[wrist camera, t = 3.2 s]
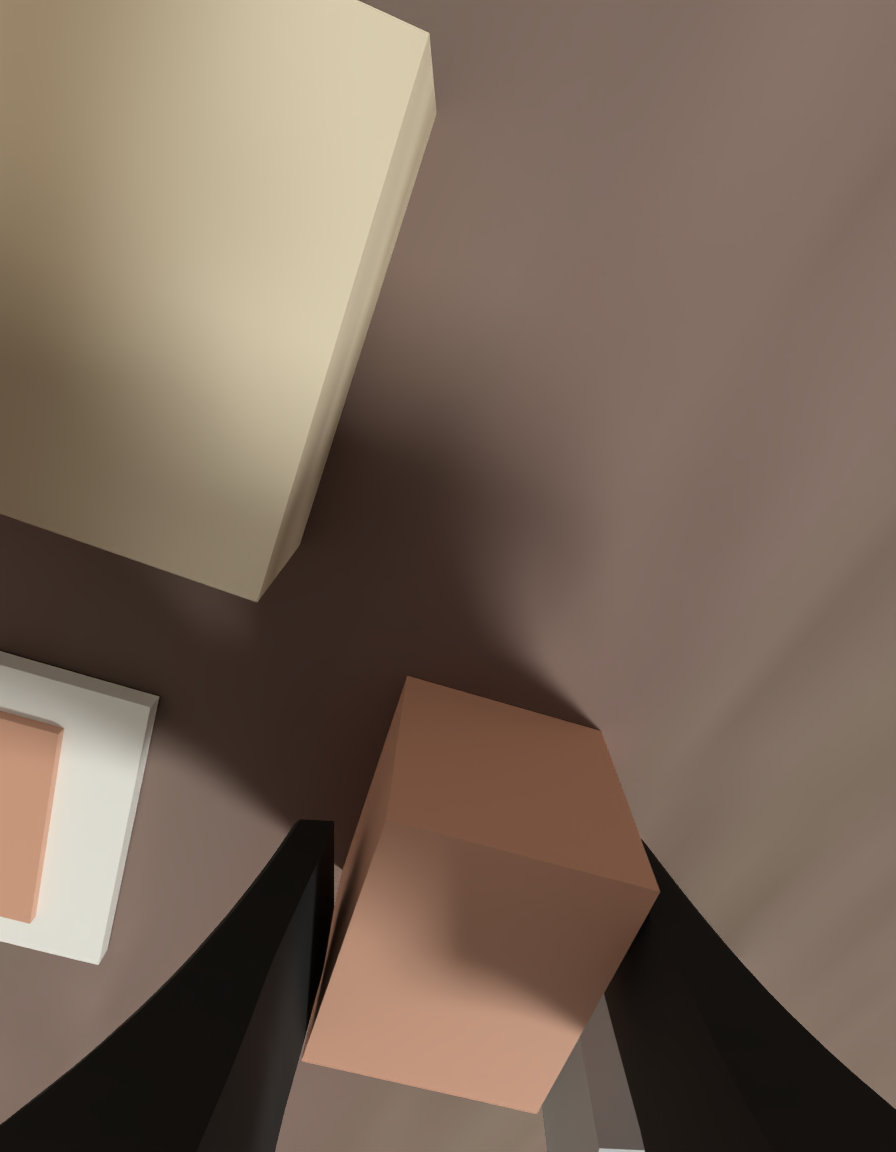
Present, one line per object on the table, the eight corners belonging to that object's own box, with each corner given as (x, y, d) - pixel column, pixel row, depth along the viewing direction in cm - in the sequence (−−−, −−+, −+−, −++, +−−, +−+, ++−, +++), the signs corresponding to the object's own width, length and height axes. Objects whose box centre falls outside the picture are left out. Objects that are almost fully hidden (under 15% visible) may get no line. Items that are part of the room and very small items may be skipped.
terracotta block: (601, 731, 13) (660, 892, 9) (516, 913, 15) (536, 1114, 11) (406, 675, 13) (385, 819, 9) (342, 869, 14) (301, 1061, 10)
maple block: (437, 120, 10) (429, 32, 7) (304, 539, 12) (257, 602, 9) (-41, -92, 9) (-270, -289, 6) (-87, 399, 11) (-269, 421, 8)
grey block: (736, 954, 15) (829, 1159, 11) (695, 1099, 17) (765, 1319, 13) (563, 945, 15) (599, 1148, 11) (540, 1091, 17) (564, 1309, 13)
